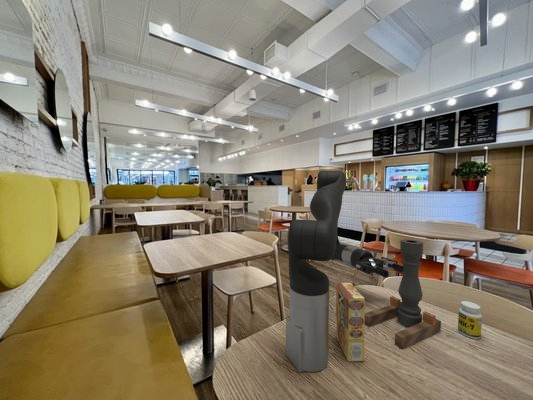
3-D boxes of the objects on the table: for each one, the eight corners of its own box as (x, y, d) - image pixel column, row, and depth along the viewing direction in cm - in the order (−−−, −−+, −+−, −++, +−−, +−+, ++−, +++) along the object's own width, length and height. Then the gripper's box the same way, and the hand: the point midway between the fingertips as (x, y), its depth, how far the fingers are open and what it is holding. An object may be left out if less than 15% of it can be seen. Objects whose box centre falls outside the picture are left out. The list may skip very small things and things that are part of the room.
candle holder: (414, 317, 69) (416, 239, 68) (426, 330, 63) (429, 244, 62) (393, 316, 70) (395, 238, 69) (403, 328, 64) (405, 243, 63)
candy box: (365, 362, 51) (366, 298, 51) (347, 362, 51) (348, 298, 51) (350, 336, 60) (351, 282, 60) (334, 337, 60) (335, 282, 59)
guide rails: (403, 350, 55) (404, 329, 55) (362, 322, 67) (362, 305, 66) (441, 331, 62) (442, 312, 62) (398, 309, 74) (399, 293, 74)
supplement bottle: (454, 331, 63) (455, 302, 62) (463, 326, 65) (464, 298, 64) (475, 341, 58) (477, 310, 58) (484, 336, 60) (485, 306, 60)
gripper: (342, 250, 82) (381, 263, 67) (370, 246, 87) (411, 257, 73) (342, 270, 82) (381, 288, 67) (369, 264, 88) (410, 279, 73)
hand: (396, 272), depth 70 cm, fingers open, 8 cm apart
